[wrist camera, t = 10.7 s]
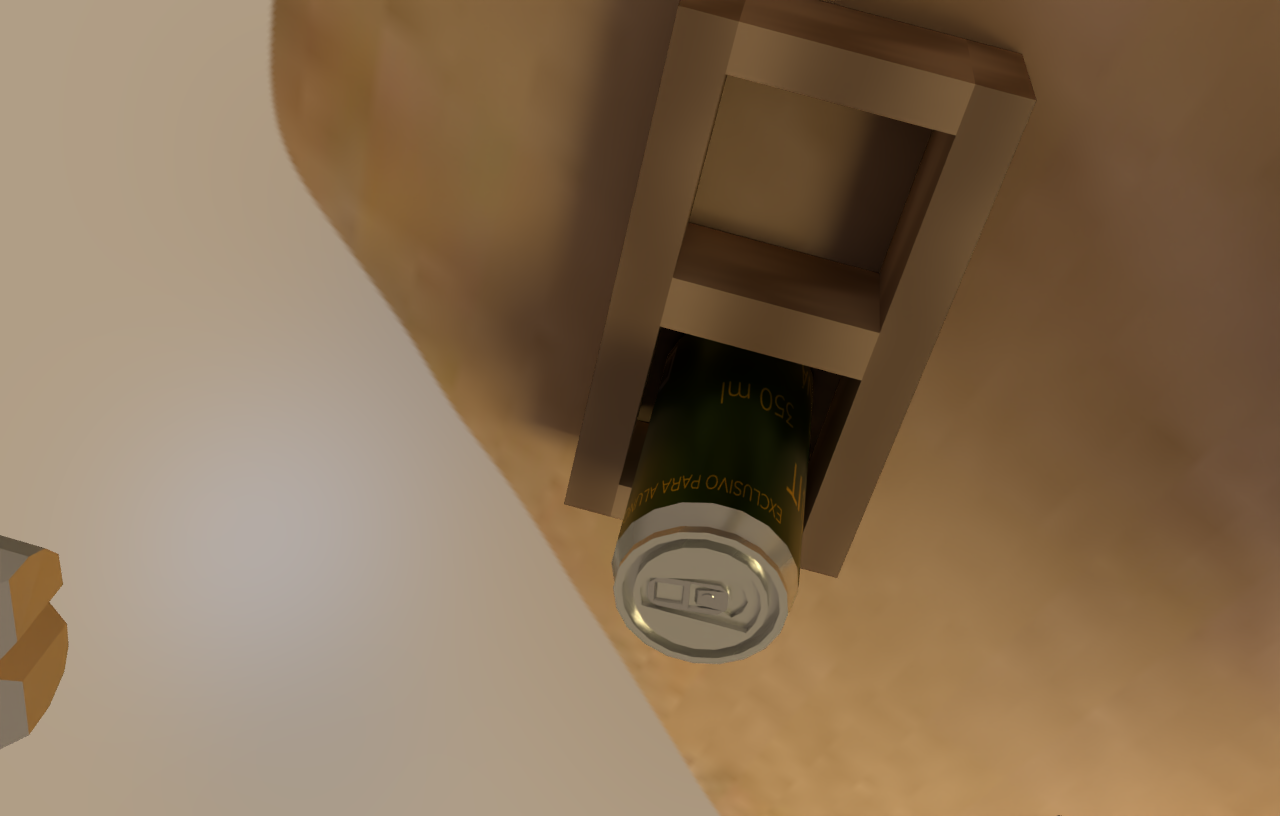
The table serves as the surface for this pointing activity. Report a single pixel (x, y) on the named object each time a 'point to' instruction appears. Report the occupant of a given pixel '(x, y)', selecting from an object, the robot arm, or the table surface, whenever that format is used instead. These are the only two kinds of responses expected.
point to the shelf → (793, 281)
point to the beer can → (717, 504)
